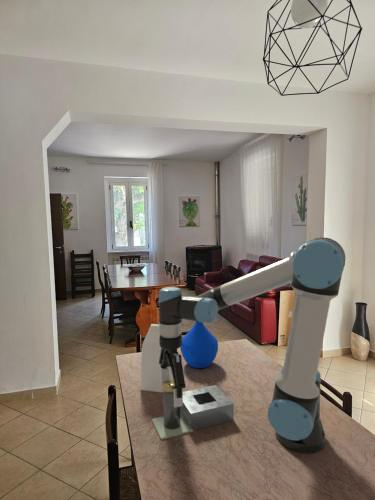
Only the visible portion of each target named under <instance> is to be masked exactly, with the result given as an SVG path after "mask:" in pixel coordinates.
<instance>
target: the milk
mask: <svg viewBox="0 0 375 500" xmlns="http://www.w3.org/2000/svg"><path fill="white" fill-rule="evenodd" d="M148 328H149V329H148V331H147V333H146V335H145V337H144V340H143V342H142V345H141V363H140V366H141V368H140V391H148V392H157V393H163V390H162V387H161V369H162V368H161V367H160V365H161V364H159V359H160V353H161V347H160V345H159V336H160V334H159V324H157V323H156V324H155V323H151V324H150V327H148ZM167 368H169V380H170V379H173V375H172V371H171V367H167Z"/></svg>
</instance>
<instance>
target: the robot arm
mask: <svg viewBox="0 0 375 500" xmlns="http://www.w3.org/2000/svg"><path fill="white" fill-rule="evenodd" d="M345 264H346V252H345V250H344V248H343V247H342V246H341V244H340V243H338V241H336V240H335V239H332V238H330V237H317V238H314V239H310V240H308V241H305V242H304V243H303V244H301V245H300V246H299V247H298V249H296V250H294V251H292V252H291V253H290V256H288V257H286V258H284V259H281V260H278V261H276V262H274V263H271V264H269V265H266V266H265V267H262V268H259V269H257V270H254V271H252V272H250V273H247V274H245V275H242V276H240V277H238V278H236V279H232V280H231V281H228V282H225V283H224V284H222V285H219V286H216V287H213V288H210V289H208V290H207V291H204V292H202V293H201V294H199V295H196V296H191V295H184V294H183V293H182V289H181V288H179V287H176V286H175V287H174V286H168V287H167V286H166V287H163V288H161V289H160V290H159V291H158V317H159V318H158V325H159V334H160V336H159V345H160V347H161V353H160V359H159V364H161V365H160V367H161V368H162V369H161V387H162V383H163V382H164V381H166V380H169V368H167V367H171V371H172V375H173V380H174V384H175V386H174V387H173V389H174V407H180V406H183V392H184V391H183V389H185V388H186V381H185V376H184V375H185V374H184V369H183V361H182V354H179V352H178V349H179V348H180V347H181V346H182V338H183V335H182V333H183V331H182V330H183V329H182V326H183V325H184V323H183V322H182V321H183V320H185V321H186V320H187V321H191V322H192V321H193V322H196V321H198V322H202V323H203V324H205V323H206V324H207V323H210V324H211V323H214V322H215V321H216V318H217V317H218V314H219V310H222V309H225V308H227V307H230V306H233V305H235V304H238V303H241V302H243V301H246V300H249V299H251V298H254V297H256V296H260V295H262V294H265V293H267V292H271V291H273V290H275V289H278V288H281V287H284V286H286V285H289V284H291V288H292V289H293V291H294V292H295V297H294V304H293V309H292V310H293V311H292V316H291V323H290V327H289V328H290V329H289V334H288V339H287V340H288V341H287V346H286V352H285V357H284V362H283V366H282V367H281V372H280V374H279V375H277V376H276V379H275V383H274V387H273V394H272V399H271V402H270V404H269V405H268V407H267V408H268V409H267V419H268V422H269V424H270V426H271V427H272V428H273V430H274V434H275V437H276V439H277V441H278V442H279V443H280V444H281V445H282V446H283V447H285V448H287V449H289V450H292V451H294V452H298V453H302V454H303V453H304V454H312V453H313V454H314V453H317V452H319V451H321V450H322V449H324V448H325V445H326V434H325V430H324V426H323V423H322V420H321V417H320V416H321V414H320V413H321V383H322V379H321V373H320V371H319V370H318V368H319V363H320V358H321V353H322V347H323V342H324V337H325V333H326V325H327V320H328V316H329V309H330V305H331V301H332V300H334V299H335V298H336V297H338V296H339V293H340V288H341V287H340V286H341V282H342V277H343V272H344V269H345Z"/></svg>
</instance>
